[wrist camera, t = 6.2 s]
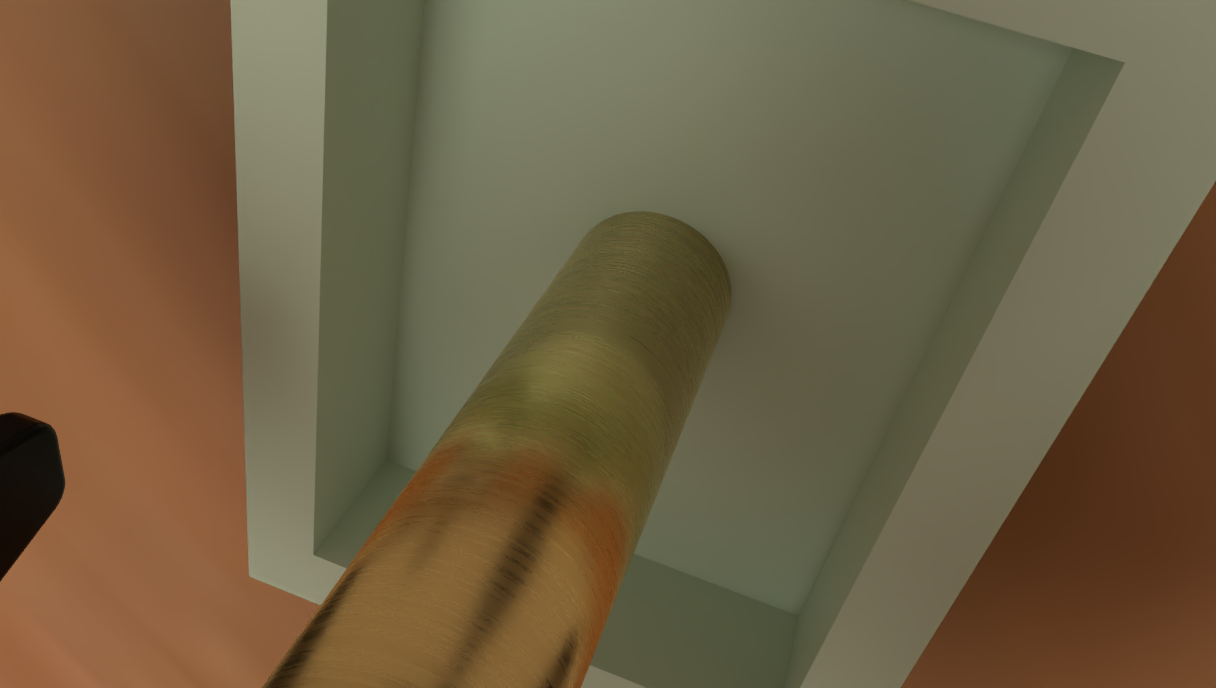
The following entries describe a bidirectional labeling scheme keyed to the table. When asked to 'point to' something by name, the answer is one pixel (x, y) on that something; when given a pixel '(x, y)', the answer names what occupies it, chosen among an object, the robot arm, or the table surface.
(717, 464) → the tray
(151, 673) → the table surface
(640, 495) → the lock pin
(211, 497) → the table surface
